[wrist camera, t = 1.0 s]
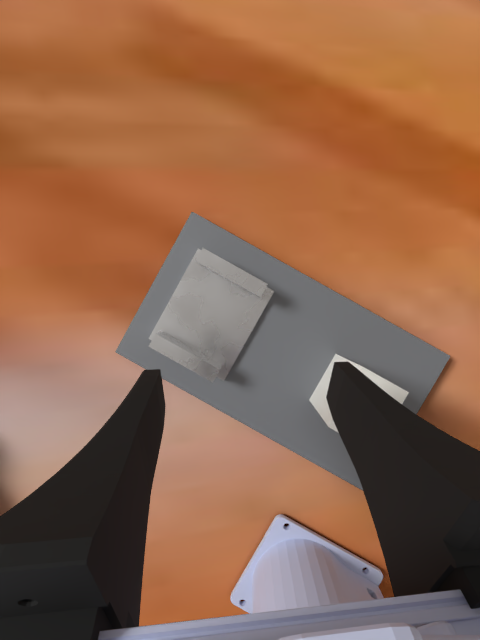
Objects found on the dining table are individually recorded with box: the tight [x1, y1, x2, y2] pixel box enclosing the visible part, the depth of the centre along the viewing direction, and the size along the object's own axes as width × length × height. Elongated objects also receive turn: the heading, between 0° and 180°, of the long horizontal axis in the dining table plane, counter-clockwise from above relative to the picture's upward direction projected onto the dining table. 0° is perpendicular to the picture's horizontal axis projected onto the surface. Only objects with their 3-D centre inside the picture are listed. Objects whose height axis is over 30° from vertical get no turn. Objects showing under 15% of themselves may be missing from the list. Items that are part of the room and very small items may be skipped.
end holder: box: [148, 248, 274, 382], centre depth 22 cm, size 6×8×2 cm
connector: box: [309, 354, 409, 433], centre depth 20 cm, size 3×4×6 cm
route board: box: [116, 212, 450, 490], centre depth 24 cm, size 22×12×1 cm, turn 61°
